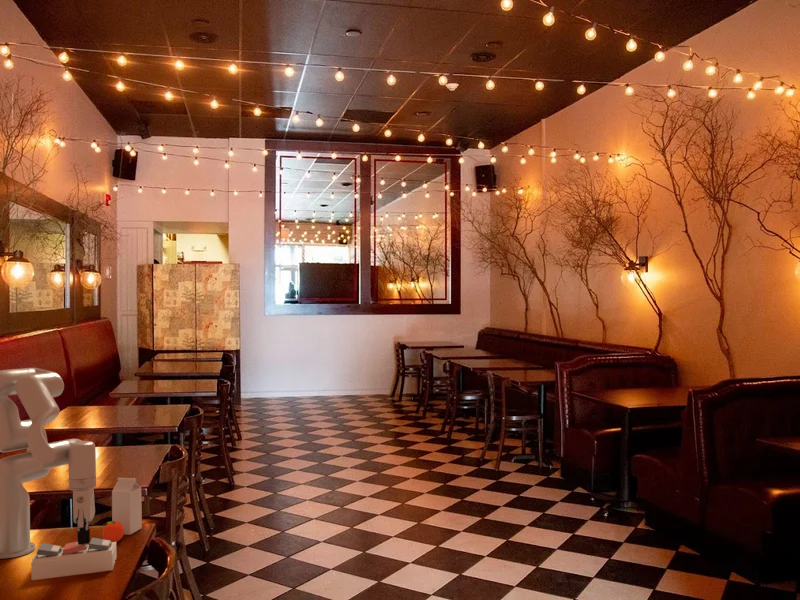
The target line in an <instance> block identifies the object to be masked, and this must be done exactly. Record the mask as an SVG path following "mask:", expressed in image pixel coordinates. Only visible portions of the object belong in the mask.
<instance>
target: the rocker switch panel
mask: <svg viewBox="0 0 800 600" xmlns="http://www.w3.org/2000/svg"><path fill="white" fill-rule="evenodd" d="M88 547H89V544H86V546H85V549H84V551H79V552H74V553H69V554H64V555H63V549H64V547H61V550H60V552H59V554H58V556H46V555H39V554H37V552H36V553H35V555H34V556H33V557H32V561H31V563H30V565H31V567H30V569H31V577H30V578H31V581H36V580H37V581H38V580H43V579H44V580H45V579H52V578H60V577H61V578H62V577H68V576H69V577H70V576H77V575H83V574H93V573H101V572H107V571H113V570H114V566H115V564H116V561H117V542H110V546H109V548H108V550H97V549H90V548H88ZM115 560H116V561H115Z"/></svg>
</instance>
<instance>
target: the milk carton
mask: <svg viewBox="0 0 800 600" xmlns="http://www.w3.org/2000/svg"><path fill="white" fill-rule="evenodd" d="M142 501H143V499H142V486H141V485H140V484H139V483H138V482H137V479H136V478H135V477H134V478H132V477H131V478H129V477H128V478H127V477H117V481H116V483H115V485H114V487H113V488H112V491H111V511H112V512H111V515H112V516H111V518H112V519H111V521H112V522H113V521H117V522H119V523H121V524H122V525H123V527H124V534H123V535H127V536H129V535H130V536H131V535H132V534H134V533H136V532H137V531H139V530H141V529H142V528H143V522H142V521H143V520H142V519H143V517H142V516H143V515H142V514H143V513H142V512H143V511H142V510H143V509H142Z"/></svg>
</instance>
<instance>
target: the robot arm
mask: <svg viewBox="0 0 800 600" xmlns="http://www.w3.org/2000/svg"><path fill="white" fill-rule="evenodd" d="M64 389H65V383H64V381H63V378H62V376H61V375H60V374H58V373H57V372H54V371H51V370H47V369H43V368H38V367H26V368H25V367H24V368H12V369H2V370H0V453H10V452H11V453H12V452H15V451H20V450H25V449H26V451H27V452H24V453H18V454H14V455H8V456H6V457H5V456H4V457H3V458H0V559H1V560H2V559H12V558H17V557H22V556H25V555H27V554H30V553H32V552H33V551H35V550H36V544H35V543H34V542H31V510H30V509H31V506H30V505H31V504H30V503H31V502H30V500H31V498H30V497H31V496H30V493H29V492H28V490H27V489H26V488H25V486H24V485H23V484H24V483H27V482H28V483H29V482H31V481H36V480H39V479H42V478H45V477H47V476H48V475H49V473H50V472H51V469H53V468H57V467H60V466H66V465H68V489H69V490H70V491H72V513H73V523H74V524H77V542H78V544H86V545H88V544H90V541H91V528H90V522H92V521H93V519H94V517H95V515H96V514H95V513H96V506H95V493H94V490H95V489H94V488H96V487H97V461H96V460H97V459H96V456H97V455H96V444H95V442H93V441H91V440H81V439H79V438H70V439H69V438H67V439H64V440H59V441H53V442H48V436H47V435H48V434H47V433H46V429H45V426H47V425H48V424H50V423H52V422H53V421H54V420H55V419H56V418H58V416H59V415H60V412H61V410H60V407H59V405H58V404H57V402H56V400H55V399H54V398H56V397H59V396H61V395H62V394H63V391H64ZM14 395H17V397H18V398H19V400H20V402H21V404H22V406H23V407H24V410H25V412H26V413H27V415H28V418H29V419H24V420H21V418H20V413H19V408H18V406H17V405H16V403H15V402H14V401H13V400H12V399H11V398H10V397H8V396H14Z"/></svg>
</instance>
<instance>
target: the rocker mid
mask: <svg viewBox="0 0 800 600" xmlns="http://www.w3.org/2000/svg"><path fill="white" fill-rule="evenodd" d="M86 545H87V544H78V541H72V542H68V543H65V545H64V546H63V548H64V549H63V555H64V554H69V553H74V552H79V551H84V549H85V546H86Z"/></svg>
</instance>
